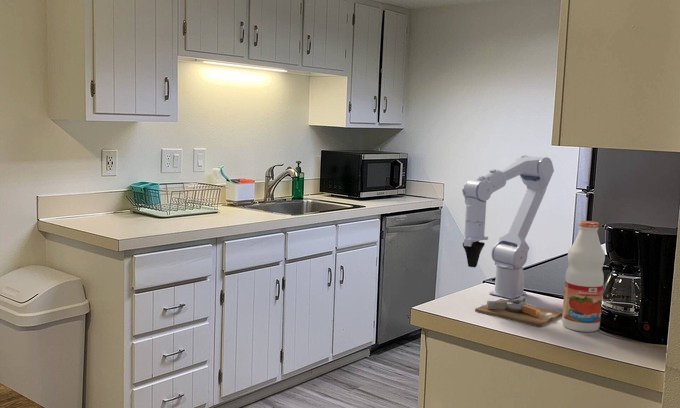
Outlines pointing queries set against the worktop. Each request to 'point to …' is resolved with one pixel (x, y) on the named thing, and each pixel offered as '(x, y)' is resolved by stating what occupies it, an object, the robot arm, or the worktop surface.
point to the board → (521, 315)
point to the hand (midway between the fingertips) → (472, 266)
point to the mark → (548, 315)
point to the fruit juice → (584, 280)
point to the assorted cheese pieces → (514, 306)
